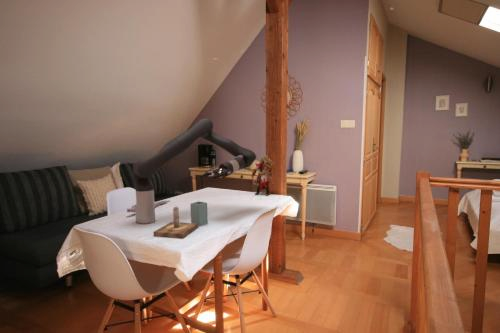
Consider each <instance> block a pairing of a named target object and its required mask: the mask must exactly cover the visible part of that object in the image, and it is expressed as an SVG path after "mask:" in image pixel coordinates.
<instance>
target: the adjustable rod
mask: <svg viewBox="0 0 500 333" xmlns="http://www.w3.org/2000/svg"><path fill="white" fill-rule="evenodd" d="M170 201H171V200H160V201H154V203H155V208H157V206H161V205H164V204H167V203H168V202H170ZM135 205H136V204H134V205H132V206H131V207H128V208H126V212H127V213H135Z"/></svg>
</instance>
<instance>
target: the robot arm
mask: <svg viewBox="0 0 500 333" xmlns="http://www.w3.org/2000/svg"><path fill="white" fill-rule="evenodd" d="M213 129H214V122H213V121H212V120H211V119H210V118H207V117H206V118H201V119H199V120H198V121H197V122H196V123H195V124H193V125H192V126H191V127H190V128H188V129H187V130H186V131H184V132H182V133H180V134H179V135H177V136H176V137H174V138H172V139H171V140H170V141H168V142H166V144H165V145H163V146H162V148H161V149H160V150H159V151H158V152H157V153H156V154H155V155H153V156H151V157H149V158H147V159H138V160H137V161H135V162H134V164H133V167H132V175H133V176H132V177H133V184H134V186H135V187H134V188H135V203H136V204H134V205H135V212H134V214H135V215H134V216H135V223H138V224H150V223H151V224H152V223H154V222H155V221H156V207H155V203H154V202H155V189H154V188H155V186H154V183H153V182H152V176H153V175H154V174H155V173H157V172H158V171H159V170H160V169H162V167H164V166H165V165H167V164H168V163H169V162H172V161H173V160H174V159H176V158H178V156H181V155H182V154H183V153H184V152H186V151H187V150H188V149H189V148H190V147H191V146H192V145H193V144H194V143H195V142H196V141H197V140H198V139H199V138H202V139H203V140H206V141H208V142H210V143H212V144H214V145H216V146H217V147H220V148H221V149H222V150H224V151H226V152H227V153H229V154H230V155H231V156H233V157H235V158H231V159H229V160H227V161H224V162H222V163H220V164H219V166H218V167H217V168H213V167H212V168H210V169H208V170H206V171H205V173H203V174H202V175H201V177H202V179H207V178H208V177H212V179H213V180H214V181H216V180H218V179H222V178H223V179H224V178H226V177H228V176H231V175H233V174H235V173H237V172H238V171H240V170H242V169H247V168H249V167H250V166H252V165H253V164H254V162H255V160H256V159H257V154H256V153H255V152H254V151H253V150H251V149H248V148H246V147H243V146H240V145H239V144H238V143H236V142H235V141H234V140H232V139H229V138H226V137H223V136H221V135H218V134H217V133H216V132H214V131H213Z"/></svg>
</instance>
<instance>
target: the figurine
mask: <svg viewBox="0 0 500 333" xmlns="http://www.w3.org/2000/svg"><path fill="white" fill-rule="evenodd" d="M274 165H275V164H274V163H273V160H272V159H270V157H268V154H266V155H263V157H262V158H260V159H259V163H255V167H254V169H252V172H251V179H252V180H254V177H255V176H256V174H257V176H256V179H255V180H256V182H255V183H256V184H255V185H256V192H255V194H254V195H255V196H259V195H260V192H261V191H263V190H265V191H266V192H265V194H264V195H265V196H267V197H268V196H270V189H269V188H270V185H269V184H270V180H271V181H272V180H273V179H274V170H273V169H274ZM257 171H258V173H257ZM267 171H268V175H269V178H268V177H267V173H266V172H267ZM269 179H270V180H269Z"/></svg>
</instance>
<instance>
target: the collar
mask: <svg viewBox="0 0 500 333" xmlns="http://www.w3.org/2000/svg"><path fill="white" fill-rule="evenodd" d="M208 222H209V221H208V202H206V201H199V200H198V201H195V202H191V203H190V223H198V227H201V226H205V225H207V224H208Z"/></svg>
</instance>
